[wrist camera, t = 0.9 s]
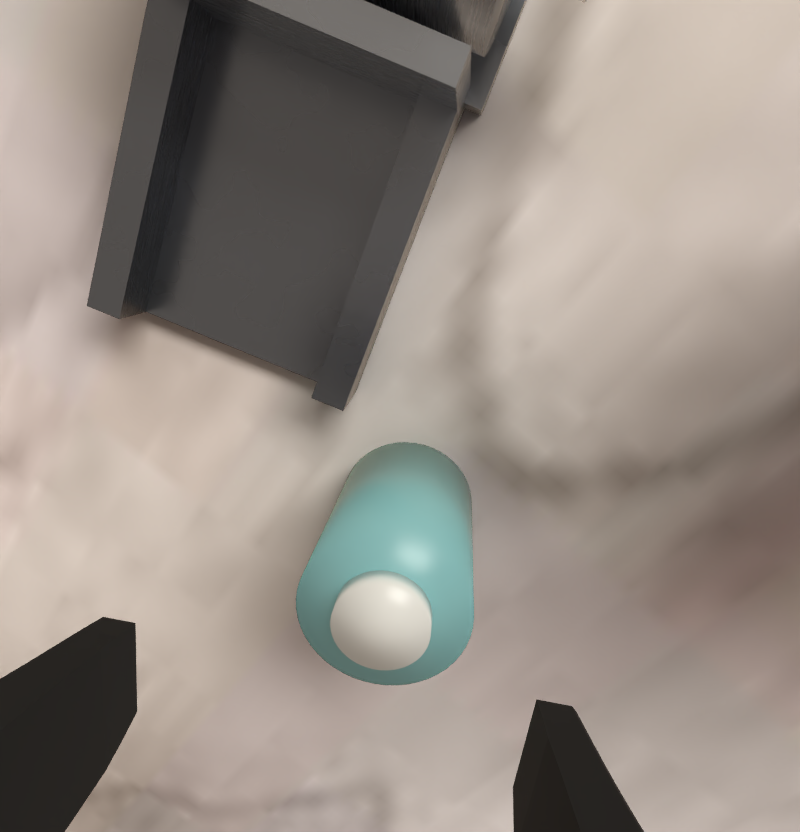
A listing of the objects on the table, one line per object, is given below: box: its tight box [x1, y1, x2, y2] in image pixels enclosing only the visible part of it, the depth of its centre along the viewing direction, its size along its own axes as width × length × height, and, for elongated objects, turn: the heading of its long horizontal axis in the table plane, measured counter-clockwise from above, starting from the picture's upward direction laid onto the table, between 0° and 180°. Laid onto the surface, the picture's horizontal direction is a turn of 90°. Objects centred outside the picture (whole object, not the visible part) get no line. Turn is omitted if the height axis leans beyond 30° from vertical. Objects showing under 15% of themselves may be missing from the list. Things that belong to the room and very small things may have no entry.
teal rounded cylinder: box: [296, 442, 474, 685], centre depth 17 cm, size 4×4×7 cm
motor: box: [87, 0, 586, 411], centre depth 13 cm, size 10×15×6 cm
